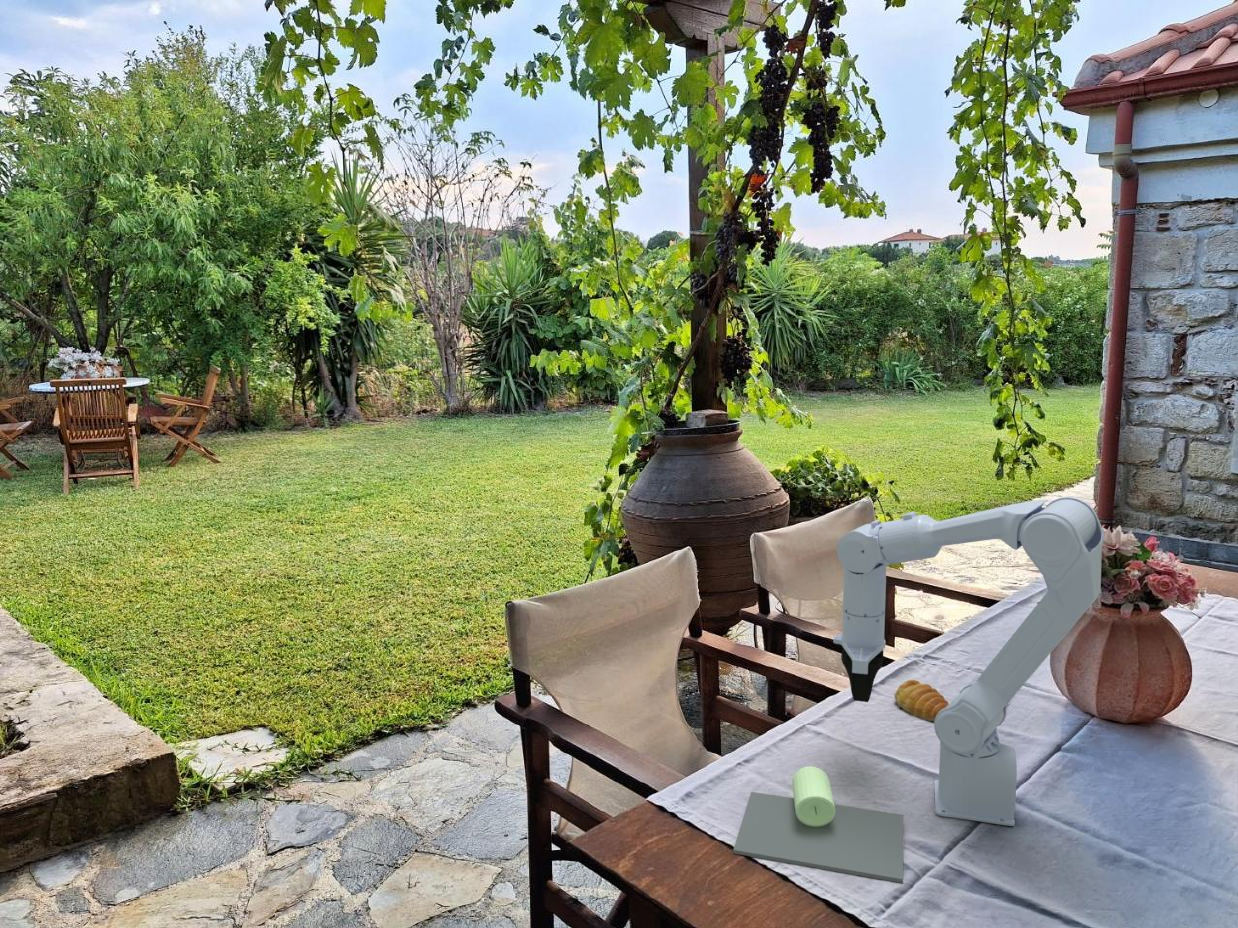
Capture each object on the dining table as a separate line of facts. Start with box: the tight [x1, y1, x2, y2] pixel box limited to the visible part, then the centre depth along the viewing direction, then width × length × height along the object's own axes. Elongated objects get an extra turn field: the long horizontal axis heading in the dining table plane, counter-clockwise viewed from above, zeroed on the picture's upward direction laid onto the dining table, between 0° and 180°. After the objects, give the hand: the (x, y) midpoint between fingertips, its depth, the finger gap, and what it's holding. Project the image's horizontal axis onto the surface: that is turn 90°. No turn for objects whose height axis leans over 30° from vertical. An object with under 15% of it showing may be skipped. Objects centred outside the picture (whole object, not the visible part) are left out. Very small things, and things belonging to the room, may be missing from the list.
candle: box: [791, 765, 836, 827], centre depth 112 cm, size 5×5×8 cm
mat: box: [733, 791, 905, 884], centre depth 109 cm, size 20×13×1 cm, turn 72°
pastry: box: [894, 679, 950, 722], centre depth 140 cm, size 9×7×4 cm
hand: (861, 699), depth 123 cm, fingers closed
